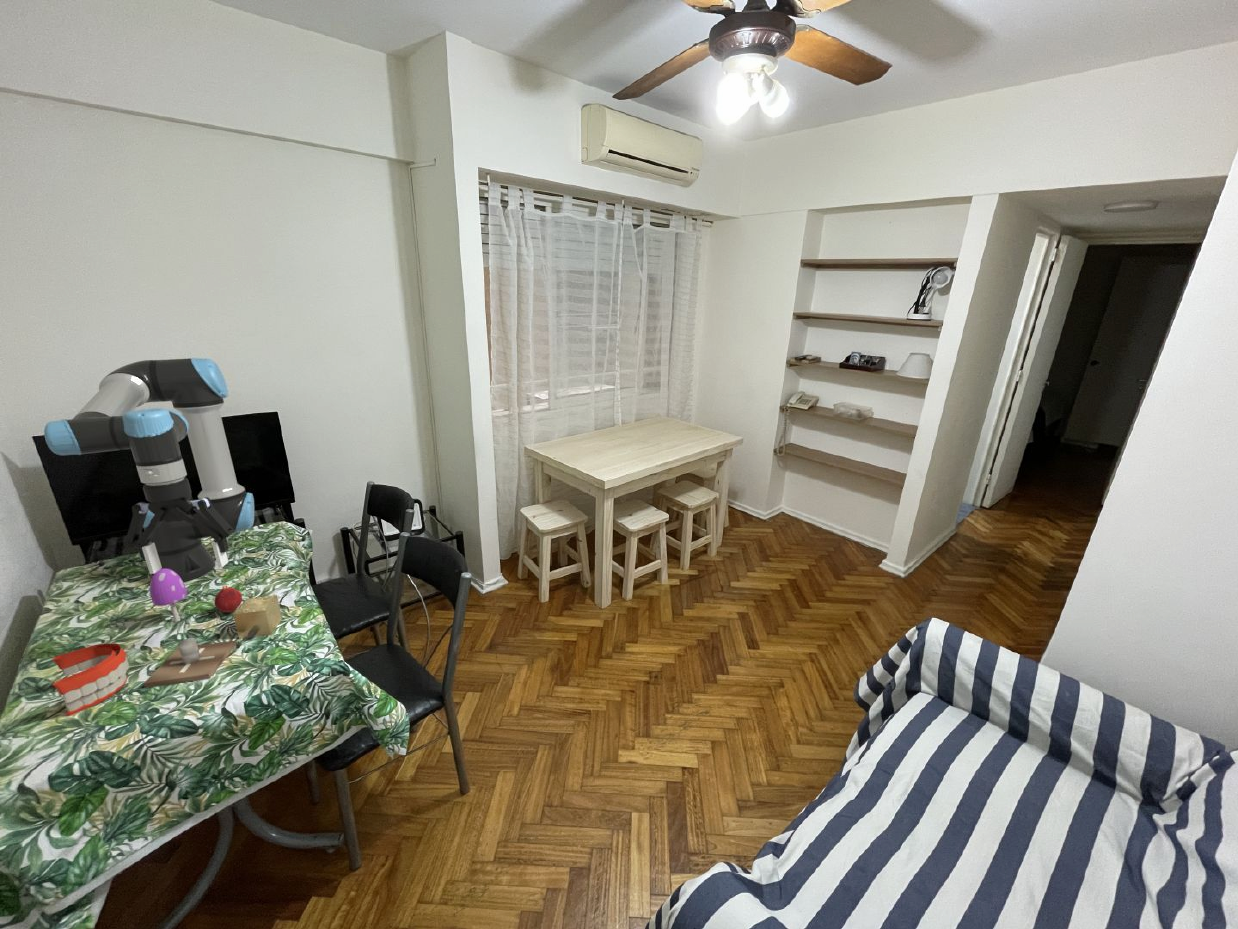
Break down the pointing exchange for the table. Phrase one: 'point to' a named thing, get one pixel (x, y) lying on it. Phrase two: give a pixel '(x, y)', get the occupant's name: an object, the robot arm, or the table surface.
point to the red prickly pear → (228, 599)
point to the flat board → (190, 663)
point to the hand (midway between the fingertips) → (190, 568)
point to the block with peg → (257, 616)
